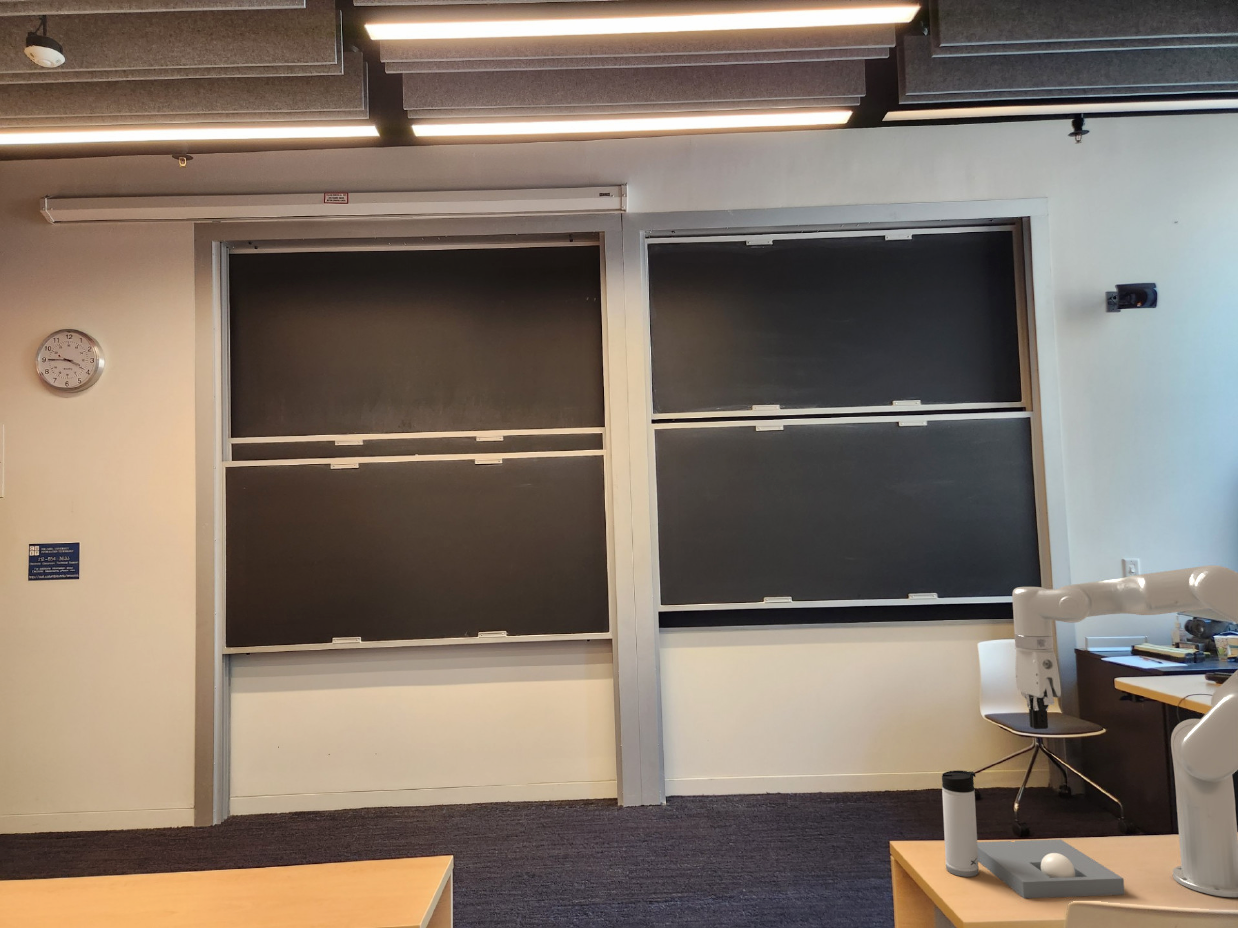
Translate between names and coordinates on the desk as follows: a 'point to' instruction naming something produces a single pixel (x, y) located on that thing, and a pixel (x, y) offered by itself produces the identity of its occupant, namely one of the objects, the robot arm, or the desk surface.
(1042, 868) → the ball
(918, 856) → the desk surface
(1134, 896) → the desk surface
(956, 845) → the travel mug
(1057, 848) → the plate
